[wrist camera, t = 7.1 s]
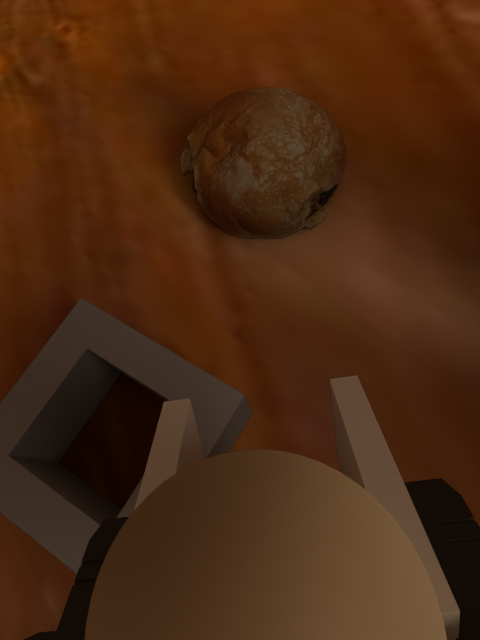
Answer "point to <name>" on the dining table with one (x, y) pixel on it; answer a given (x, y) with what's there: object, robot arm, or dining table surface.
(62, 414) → the socket
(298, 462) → the dowel
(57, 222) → the dining table surface
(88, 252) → the dining table surface
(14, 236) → the dining table surface
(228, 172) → the bread roll
